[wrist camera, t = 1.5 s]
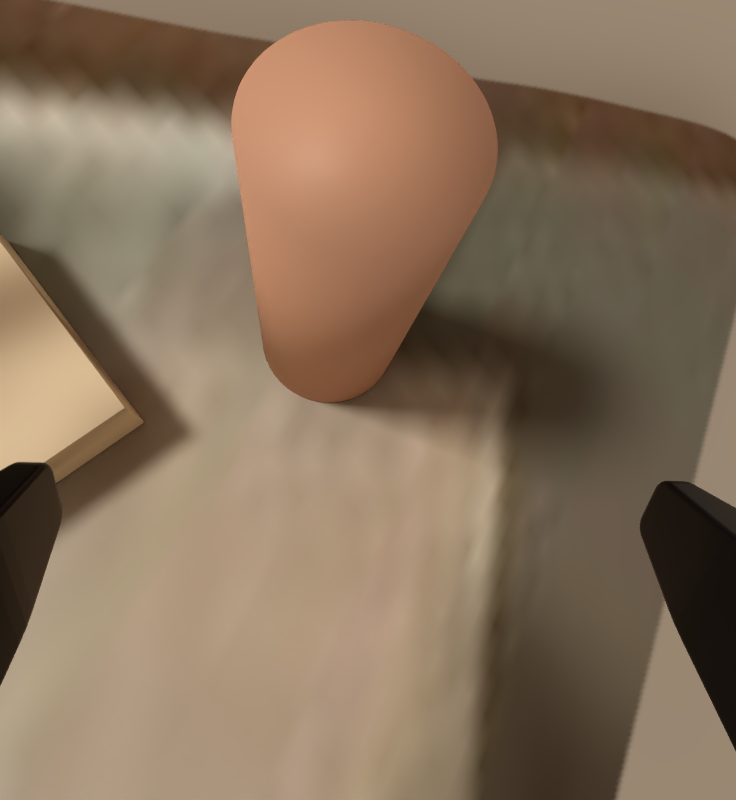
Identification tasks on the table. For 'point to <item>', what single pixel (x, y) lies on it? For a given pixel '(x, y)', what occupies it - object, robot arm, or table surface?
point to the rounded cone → (354, 193)
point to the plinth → (50, 381)
